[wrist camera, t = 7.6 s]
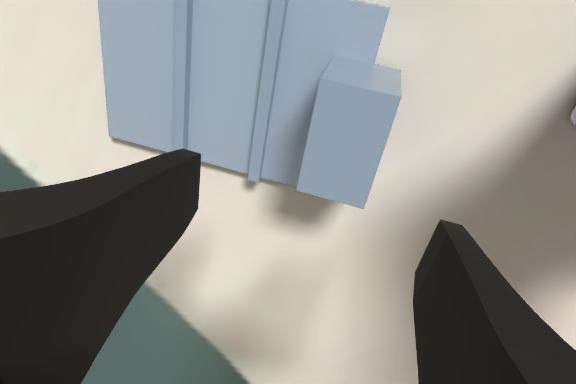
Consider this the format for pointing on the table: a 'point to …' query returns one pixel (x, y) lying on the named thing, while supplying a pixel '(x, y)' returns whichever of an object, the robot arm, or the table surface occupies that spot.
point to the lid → (255, 87)
